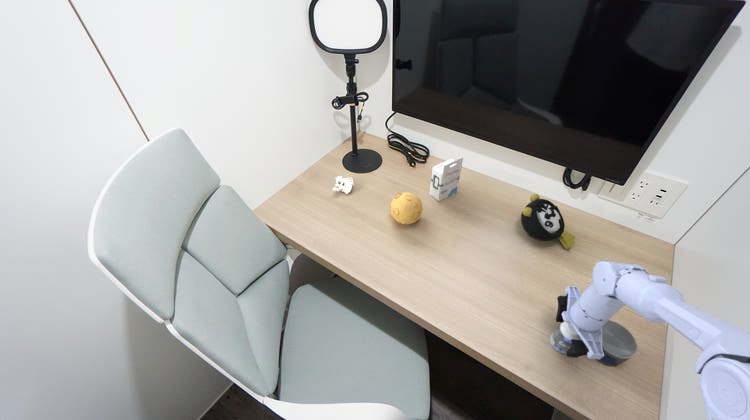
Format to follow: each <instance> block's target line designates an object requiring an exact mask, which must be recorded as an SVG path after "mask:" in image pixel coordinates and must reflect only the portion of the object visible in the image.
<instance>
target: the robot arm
mask: <svg viewBox="0 0 750 420" xmlns="http://www.w3.org/2000/svg"><path fill="white" fill-rule="evenodd" d="M591 280H592V281H591V282H590V284H589V285H588V286H587V287H586V289H585V290H584V291H583V292H581V291H580V288H579V287H578V286H575V285H567V287H566V288H565V289H564V293H565V295H559V296H557V297H556V299H557V313H556V317H555V321H556V323H560V324H561V323H562V322H564V321H565V322H568V323H570V324H571V325H572V327H573V328H574V329H575V331H576V332H577V333H578V335H579V336H580V338H581V339H582V340H575V339H571V347H570V348H569V349H568V351H567V353H565V354H566V357H567V358H576V359H578V358H580V357H585V356H587V358H588V359H591V360H595V359H599V360H600V359H601V358H602V357H603V356H605V355H604V353H605V351H604V348H603V346H602V326H603V325H604V324H605V323H606V322H607V321H608V320H611V319H612V318H613V317H614V316H615V315H616V314H617V313H618V312H620V311H621V309H622V308H623V307H624V306H625V305H626V306H627V307H629V308H630V309H631V310H633V311H634V312H636V313H637V314H638V315H640V316H641V317H643V318H644V319H646V320H648V321H649V322H652V323H656V324H667V325H669V326H670V327H671V328H673V329H674V330H675V331H676V332H677V333H679V334H680V335H682V337H684V338H685V339H687V340H688V341H689V342H690V343H692V344H693V345H695V347H696V348H698V349H700V350H701V353H700V354H699V356H698V358H697V360H696V362H695V366H694V371H695V373H696V374H697V375H700V377H699V385H700V386H699V387H700V391H701V395H702V400H703V405H704V409H705V414H706V417H707V420H750V332H749V331H747V330H745V329H744V328H740V327H738V326H736V325H734V324H732V323H730V322H728V321H725V320H723V319H722V318H719V317H717V316H715V315H713V314H711V313H708V312H706V311H705V310H702V309H700V308H697V307H696V306H694V305H692V304H689V303H687V302H686V301H685V297H684V295H683V293H682V292H681V291H680V290H679V289H678V288H676V287H675V286H672V285H671V284H668V283H667V281H668V279H667V278H665V277H664V276H662V275H655V274H650V273H649V271H648V270H646V269H645V268H643V266H641V265H639V264H634V263H625V262H618V261H608V260H600V261H598V262H596V264H595V265H594V267H593V268H592V274H591Z"/></svg>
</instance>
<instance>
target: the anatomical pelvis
mask: <svg viewBox="0 0 750 420" xmlns="http://www.w3.org/2000/svg"><path fill="white" fill-rule="evenodd" d="M353 179H354V178H353V177H343V176H342V175H338V176H336V177H335V183H336V184H335V187H333V188H332V191H333V192H334V191H336V192H340V191H341V192H343V193H345V194H346V195H348V194H350V193H351V191H352V188H353V186H354V180H353Z"/></svg>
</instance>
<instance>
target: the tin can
mask: <svg viewBox="0 0 750 420" xmlns="http://www.w3.org/2000/svg"><path fill="white" fill-rule="evenodd" d="M602 346H603V348H604V351H605V353H604V355H605V356H603V357H602V358H601V359H600V360H599V359H594V360H595V361H597V362H598V363H600V364H601V365H604V366H607V367H618V366H621V365H622V364H624V363H625V362H627V361H628V360H629V359H631V358H633V357H635V355H636V354H637V352H638V343H637V340H636V338H635V337H634V335H633V333H631V332H630V331H629V330H628V329H627V328H626V327H625V326H623V325H622V324H620V323H618V322H616V321H614V320H611V319H609V320H608V321H607V322H606V323H605V324H604V325H603V326H602Z"/></svg>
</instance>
